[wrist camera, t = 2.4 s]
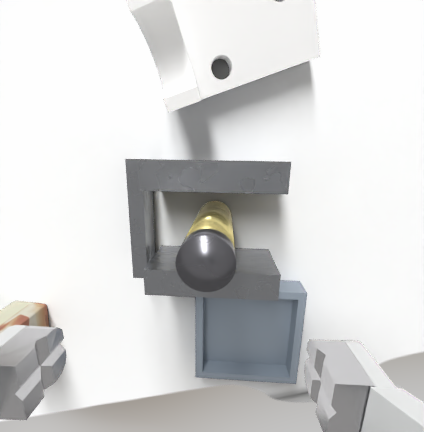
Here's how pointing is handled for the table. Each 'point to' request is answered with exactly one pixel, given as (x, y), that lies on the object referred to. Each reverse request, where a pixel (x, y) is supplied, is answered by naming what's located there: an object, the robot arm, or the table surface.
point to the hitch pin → (208, 250)
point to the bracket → (223, 42)
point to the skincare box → (23, 315)
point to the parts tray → (251, 336)
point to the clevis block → (166, 255)
